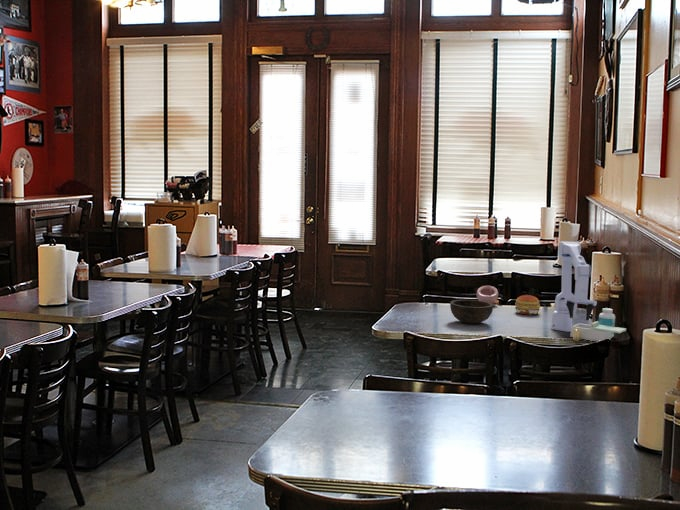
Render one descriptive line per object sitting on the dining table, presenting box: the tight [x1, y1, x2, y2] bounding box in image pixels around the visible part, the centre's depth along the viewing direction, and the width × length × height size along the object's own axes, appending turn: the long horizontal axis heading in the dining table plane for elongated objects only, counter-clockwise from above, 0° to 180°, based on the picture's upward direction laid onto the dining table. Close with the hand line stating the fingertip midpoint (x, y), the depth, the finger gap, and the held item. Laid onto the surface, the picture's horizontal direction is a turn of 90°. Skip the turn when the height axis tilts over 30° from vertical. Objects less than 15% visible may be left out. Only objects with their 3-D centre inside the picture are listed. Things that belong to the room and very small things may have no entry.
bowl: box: [449, 299, 494, 325], centre depth 428 cm, size 22×22×10 cm
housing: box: [569, 322, 612, 342], centre depth 399 cm, size 16×10×6 cm, turn 53°
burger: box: [514, 294, 541, 315], centre depth 458 cm, size 14×14×10 cm
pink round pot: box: [476, 284, 499, 305], centre depth 480 cm, size 12×12×11 cm
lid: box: [590, 320, 627, 334], centre depth 394 cm, size 14×9×2 cm, turn 53°
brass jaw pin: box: [572, 329, 580, 343], centre depth 394 cm, size 3×3×5 cm
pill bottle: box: [598, 307, 616, 339], centre depth 405 cm, size 8×7×14 cm
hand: (579, 318), depth 393 cm, fingers open, 7 cm apart
